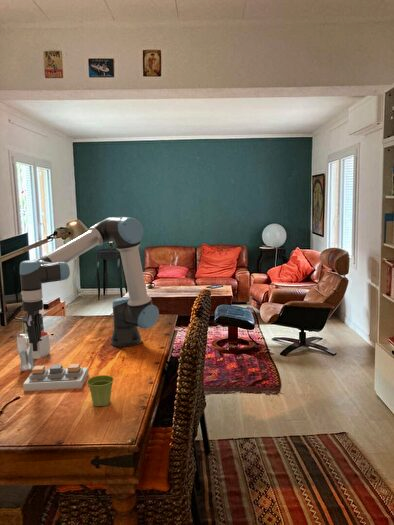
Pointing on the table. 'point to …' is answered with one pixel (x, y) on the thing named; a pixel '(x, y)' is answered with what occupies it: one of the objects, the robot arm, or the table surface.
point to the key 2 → (73, 367)
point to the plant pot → (100, 389)
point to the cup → (44, 344)
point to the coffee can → (26, 326)
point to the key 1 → (38, 369)
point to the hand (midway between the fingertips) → (36, 357)
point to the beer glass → (25, 352)
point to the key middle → (56, 368)
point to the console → (56, 380)
